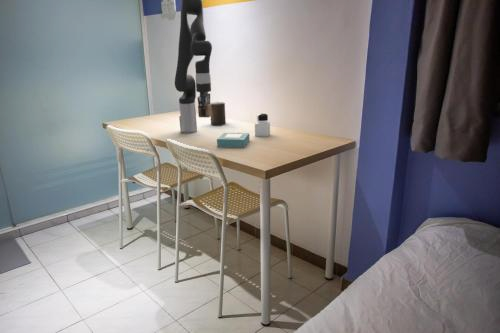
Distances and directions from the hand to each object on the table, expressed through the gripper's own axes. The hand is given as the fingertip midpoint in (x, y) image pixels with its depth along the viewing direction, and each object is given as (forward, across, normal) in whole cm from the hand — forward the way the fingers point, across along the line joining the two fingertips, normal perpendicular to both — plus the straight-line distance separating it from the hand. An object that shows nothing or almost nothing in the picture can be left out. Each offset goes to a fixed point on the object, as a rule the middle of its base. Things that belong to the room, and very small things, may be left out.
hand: (205, 114), depth 195 cm
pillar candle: (+15, -46, -7) cm, 49 cm away
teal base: (+15, +2, +15) cm, 21 cm away
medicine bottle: (+15, -18, +27) cm, 36 cm away
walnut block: (+1, 0, 0) cm, 1 cm away
